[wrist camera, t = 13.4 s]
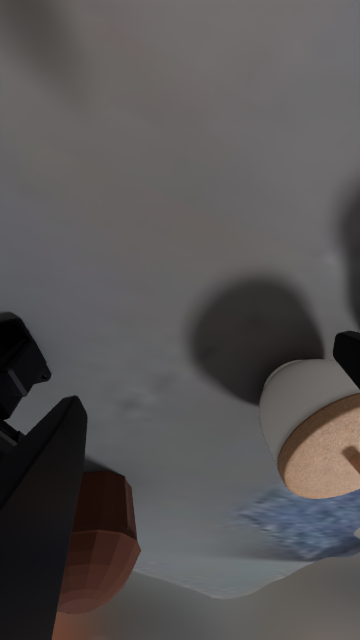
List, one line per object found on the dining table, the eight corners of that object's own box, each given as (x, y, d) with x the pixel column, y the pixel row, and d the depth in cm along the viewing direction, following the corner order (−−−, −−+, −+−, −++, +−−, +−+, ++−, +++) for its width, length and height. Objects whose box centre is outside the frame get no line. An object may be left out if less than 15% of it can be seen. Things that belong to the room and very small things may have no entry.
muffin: (30, 491, 29) (-20, 618, 20) (102, 451, 27) (83, 567, 19) (94, 523, 34) (77, 635, 25) (156, 491, 33) (162, 596, 24)
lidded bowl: (281, 323, 23) (383, 406, 13) (360, 356, 27) (484, 439, 17) (222, 410, 28) (267, 521, 18) (298, 428, 31) (369, 527, 22)
